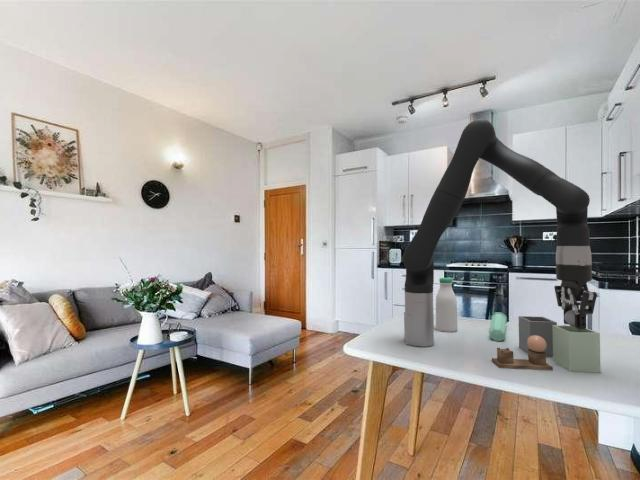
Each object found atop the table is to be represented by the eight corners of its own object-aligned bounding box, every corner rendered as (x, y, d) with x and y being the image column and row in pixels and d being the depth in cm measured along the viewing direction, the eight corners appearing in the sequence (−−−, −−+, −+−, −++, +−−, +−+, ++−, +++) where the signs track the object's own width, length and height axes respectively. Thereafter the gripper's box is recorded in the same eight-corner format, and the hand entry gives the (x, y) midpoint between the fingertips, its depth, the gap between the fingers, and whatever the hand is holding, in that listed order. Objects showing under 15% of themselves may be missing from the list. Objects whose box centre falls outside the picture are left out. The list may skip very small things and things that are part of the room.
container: (502, 324, 105) (503, 310, 127) (484, 329, 108) (488, 314, 130) (510, 342, 104) (510, 324, 126) (491, 346, 107) (494, 328, 128)
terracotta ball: (532, 354, 83) (531, 337, 83) (524, 348, 87) (523, 333, 87) (550, 355, 82) (550, 338, 82) (541, 349, 87) (540, 333, 87)
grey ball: (570, 328, 83) (570, 311, 83) (560, 324, 87) (560, 308, 87) (589, 329, 82) (589, 312, 82) (578, 324, 86) (578, 308, 86)
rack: (499, 367, 84) (499, 352, 84) (491, 360, 89) (491, 346, 89) (552, 370, 82) (552, 354, 82) (542, 363, 87) (541, 348, 87)
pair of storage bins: (552, 370, 82) (551, 331, 82) (519, 347, 100) (518, 316, 100) (600, 372, 80) (599, 333, 80) (557, 349, 98) (557, 317, 98)
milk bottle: (460, 332, 118) (459, 279, 118) (440, 332, 118) (439, 279, 118) (452, 327, 125) (451, 277, 126) (433, 327, 126) (432, 277, 126)
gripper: (543, 261, 92) (544, 319, 92) (575, 264, 78) (576, 333, 78) (571, 261, 91) (573, 320, 91) (609, 264, 77) (610, 334, 77)
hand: (574, 326), depth 84 cm, fingers closed on grey ball, 4 cm apart
